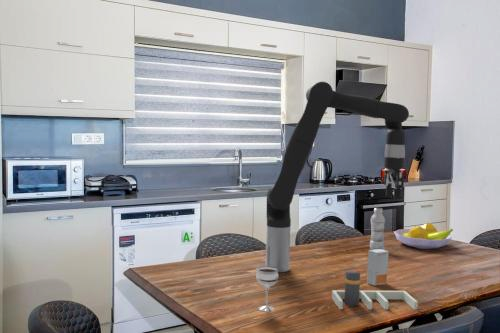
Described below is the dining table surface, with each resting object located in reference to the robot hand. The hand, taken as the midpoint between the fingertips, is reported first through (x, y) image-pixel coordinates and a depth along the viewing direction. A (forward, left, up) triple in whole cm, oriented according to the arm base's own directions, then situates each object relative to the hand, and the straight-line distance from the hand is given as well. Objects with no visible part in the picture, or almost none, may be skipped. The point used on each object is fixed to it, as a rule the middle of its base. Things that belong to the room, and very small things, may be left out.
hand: (392, 197), depth 182 cm
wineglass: (-53, -42, -29) cm, 73 cm away
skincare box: (-11, -17, -29) cm, 36 cm away
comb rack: (-19, -38, -29) cm, 51 cm away
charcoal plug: (-26, -38, -29) cm, 54 cm away
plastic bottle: (+5, +32, -29) cm, 44 cm away
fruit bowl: (+32, +43, -29) cm, 61 cm away
